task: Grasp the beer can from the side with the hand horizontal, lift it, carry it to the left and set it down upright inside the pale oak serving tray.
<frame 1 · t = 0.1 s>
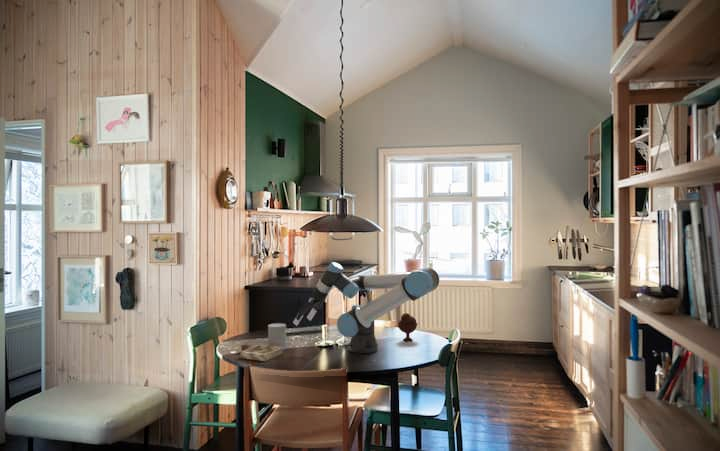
hand: (302, 321, 251), 15 cm above the table, tool tilted 35°, fingers open, 13 cm apart
ice cream bowl: (407, 340, 270), on the table
beer can: (277, 348, 257), on the table
walnut block: (246, 351, 251), on the table
oak tray: (261, 355, 243), on the table
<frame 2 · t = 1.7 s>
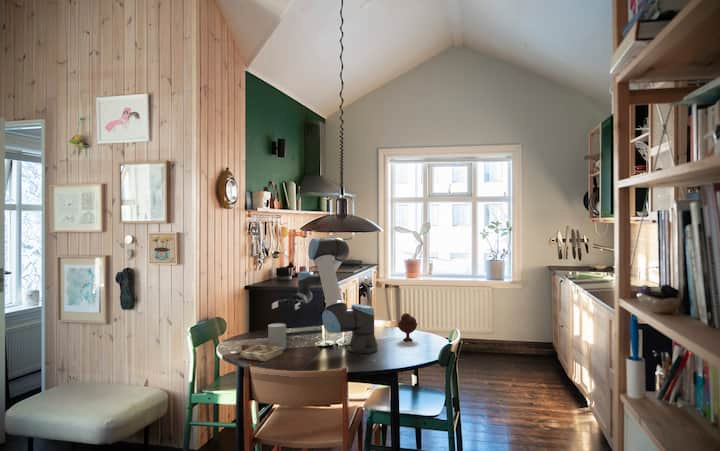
hand: (283, 306, 266), 20 cm above the table, tool horizontal, fingers open, 13 cm apart
nothing on the table moved.
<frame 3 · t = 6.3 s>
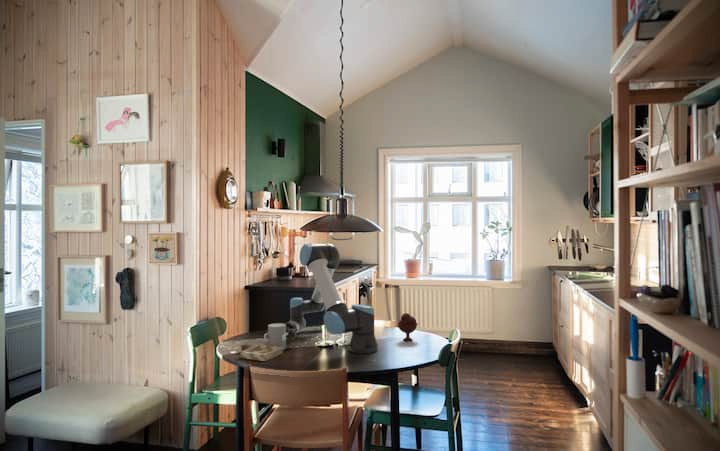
hand: (273, 337, 253), 7 cm above the table, tool horizontal, fingers closed on beer can, 9 cm apart
beer can: (277, 348, 257), on the table, touching gripper
everything else where it was.
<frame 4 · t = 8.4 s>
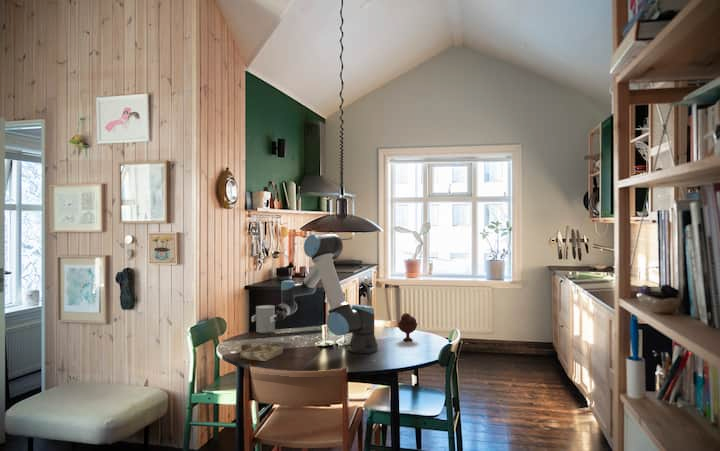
hand: (261, 319, 245), 18 cm above the table, tool horizontal, fingers closed on beer can, 9 cm apart
beer can: (265, 330, 249), point 11 cm above the table, touching gripper
everything else where it was.
when the fingers open (9 cm above the table, at t = 11.0 s): beer can drops 1 cm, resting on oak tray.
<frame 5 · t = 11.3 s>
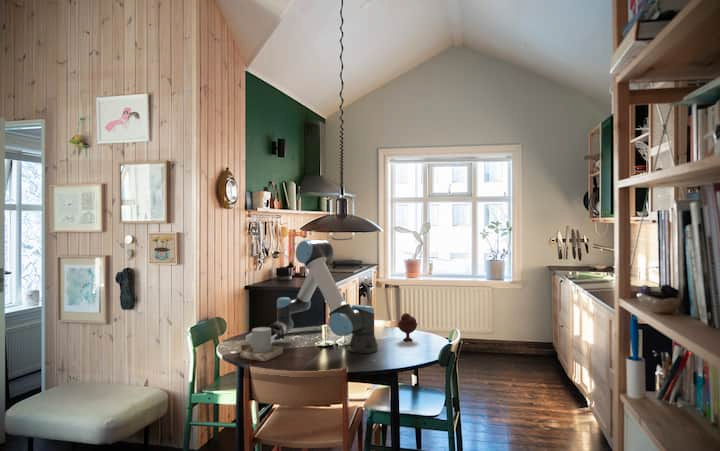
hand: (258, 339, 240), 9 cm above the table, tool horizontal, fingers open, 13 cm apart
beer can: (261, 353, 243), point 1 cm above the table, touching oak tray
everything else where it was.
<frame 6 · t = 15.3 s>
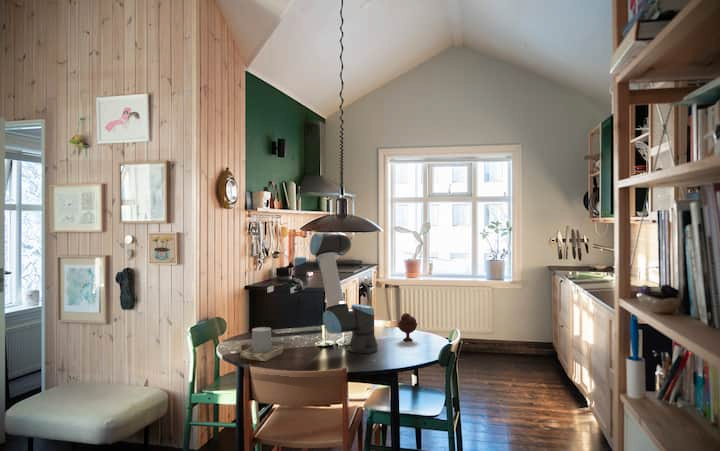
hand: (279, 290, 262), 30 cm above the table, tool horizontal, fingers open, 13 cm apart
nothing on the table moved.
at the end: beer can inside the target area on the oak tray (0.1 cm from its centre), point 0.8 cm above the oak tray's base; beer can tilted 0°; the gripper is holding nothing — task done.
